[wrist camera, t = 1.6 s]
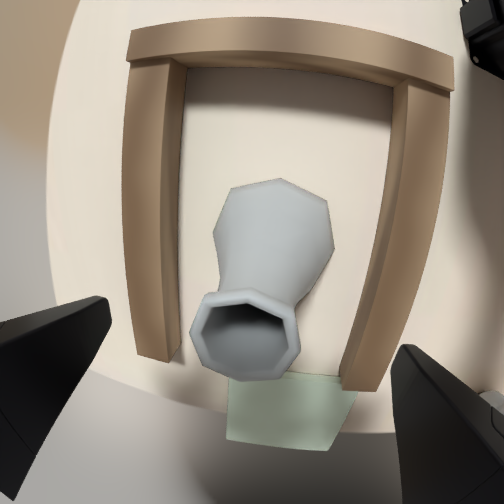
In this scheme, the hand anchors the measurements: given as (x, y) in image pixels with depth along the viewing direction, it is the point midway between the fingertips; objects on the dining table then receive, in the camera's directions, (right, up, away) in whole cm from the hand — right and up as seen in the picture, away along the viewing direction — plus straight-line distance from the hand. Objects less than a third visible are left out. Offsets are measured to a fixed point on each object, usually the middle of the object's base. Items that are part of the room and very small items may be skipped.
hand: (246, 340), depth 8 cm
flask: (+1, +3, +9) cm, 10 cm away
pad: (+3, -11, +14) cm, 18 cm away
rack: (+2, +5, +9) cm, 10 cm away
